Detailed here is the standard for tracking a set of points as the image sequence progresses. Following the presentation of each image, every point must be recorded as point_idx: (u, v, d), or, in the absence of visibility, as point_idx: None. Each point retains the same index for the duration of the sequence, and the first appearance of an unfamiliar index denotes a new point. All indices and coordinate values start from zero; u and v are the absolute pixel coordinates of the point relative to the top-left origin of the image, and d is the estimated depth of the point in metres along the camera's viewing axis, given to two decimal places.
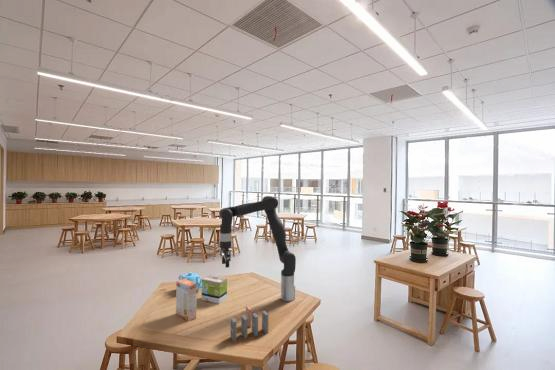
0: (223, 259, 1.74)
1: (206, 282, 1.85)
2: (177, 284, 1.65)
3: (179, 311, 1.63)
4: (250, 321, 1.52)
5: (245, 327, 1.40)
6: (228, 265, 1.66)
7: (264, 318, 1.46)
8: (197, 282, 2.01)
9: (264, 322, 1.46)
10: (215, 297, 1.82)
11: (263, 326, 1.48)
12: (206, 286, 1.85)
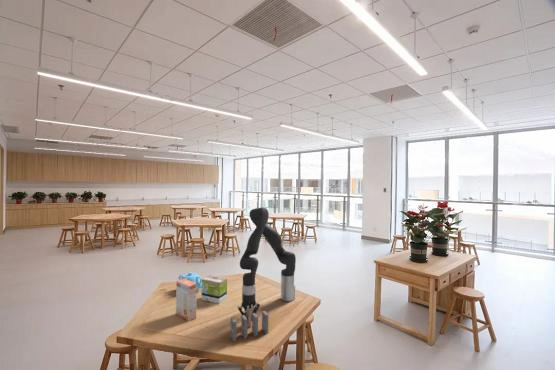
0: None
1: (206, 282, 1.85)
2: (177, 284, 1.65)
3: (179, 311, 1.63)
4: (250, 321, 1.52)
5: (245, 327, 1.40)
6: (251, 318, 1.55)
7: (264, 318, 1.46)
8: (197, 282, 2.01)
9: (264, 322, 1.46)
10: (215, 297, 1.82)
11: (263, 326, 1.48)
12: (206, 286, 1.85)
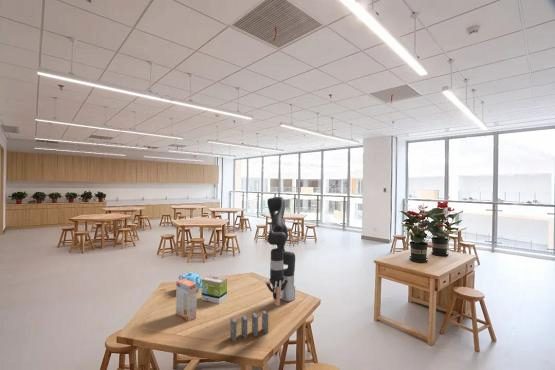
0: None
1: (206, 282, 1.85)
2: (177, 284, 1.65)
3: (179, 311, 1.63)
4: (278, 299, 1.49)
5: (245, 327, 1.40)
6: None
7: (264, 318, 1.46)
8: (197, 282, 2.01)
9: (264, 322, 1.46)
10: (215, 297, 1.82)
11: (263, 326, 1.48)
12: (206, 286, 1.85)
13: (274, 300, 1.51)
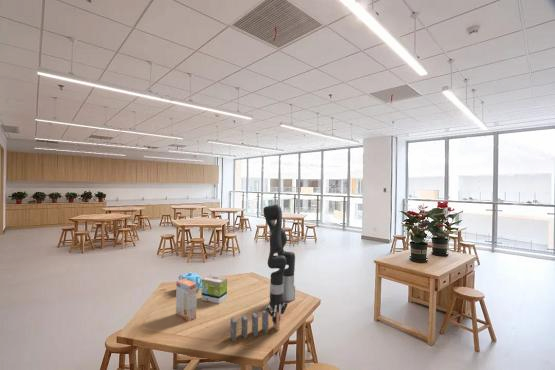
0: None
1: (206, 282, 1.85)
2: (177, 284, 1.65)
3: (179, 311, 1.63)
4: (278, 325, 1.48)
5: (245, 327, 1.40)
6: None
7: (264, 318, 1.46)
8: (197, 282, 2.01)
9: (264, 322, 1.46)
10: (215, 297, 1.82)
11: (263, 326, 1.48)
12: (206, 286, 1.85)
13: (274, 325, 1.51)
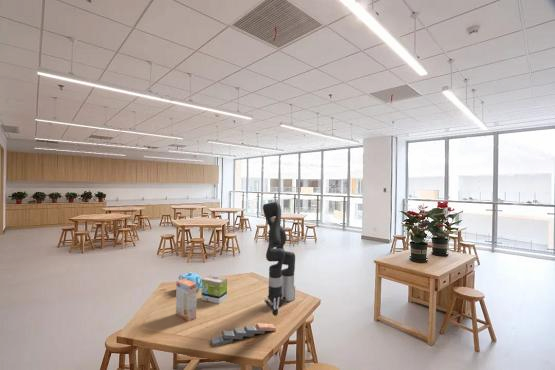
0: None
1: (206, 282, 1.85)
2: (177, 284, 1.65)
3: (179, 311, 1.63)
4: (271, 329, 1.46)
5: (231, 337, 1.37)
6: None
7: None
8: (197, 282, 2.01)
9: None
10: (215, 297, 1.82)
11: None
12: (206, 286, 1.85)
13: None
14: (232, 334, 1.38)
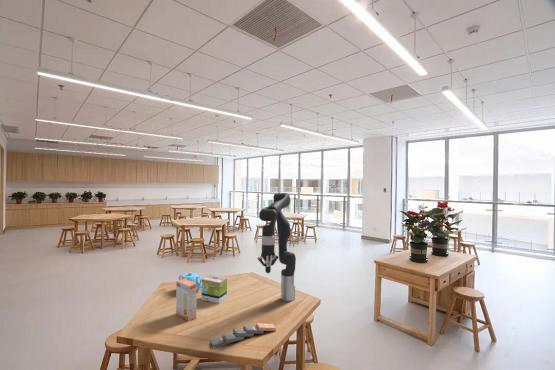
0: None
1: (206, 282, 1.85)
2: (177, 284, 1.65)
3: (179, 311, 1.63)
4: (270, 329, 1.46)
5: (234, 340, 1.35)
6: None
7: None
8: (197, 282, 2.01)
9: None
10: (215, 297, 1.82)
11: None
12: (206, 286, 1.85)
13: None
14: (233, 336, 1.36)
